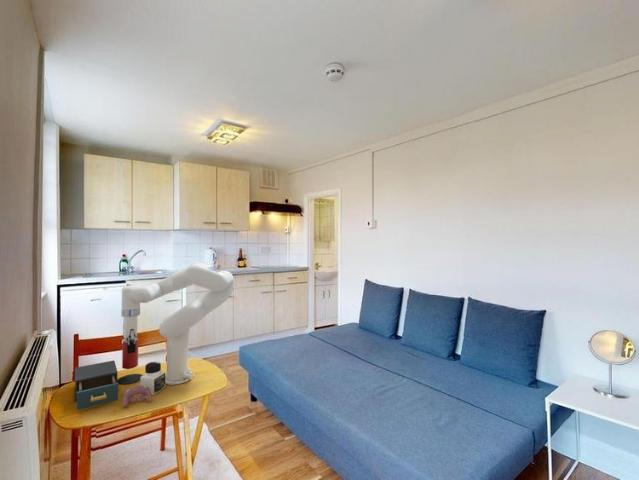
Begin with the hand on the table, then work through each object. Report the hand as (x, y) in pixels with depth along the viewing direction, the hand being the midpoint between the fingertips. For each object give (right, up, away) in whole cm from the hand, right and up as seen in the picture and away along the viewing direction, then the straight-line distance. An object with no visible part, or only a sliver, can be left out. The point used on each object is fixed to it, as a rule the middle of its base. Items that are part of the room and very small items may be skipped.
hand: (130, 350), depth 149 cm
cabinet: (-10, -14, -9) cm, 19 cm away
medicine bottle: (+16, -15, -10) cm, 23 cm away
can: (0, -8, 0) cm, 8 cm away
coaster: (0, -14, 0) cm, 14 cm away
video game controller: (+14, -15, -20) cm, 29 cm away
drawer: (-1, -13, -20) cm, 24 cm away
